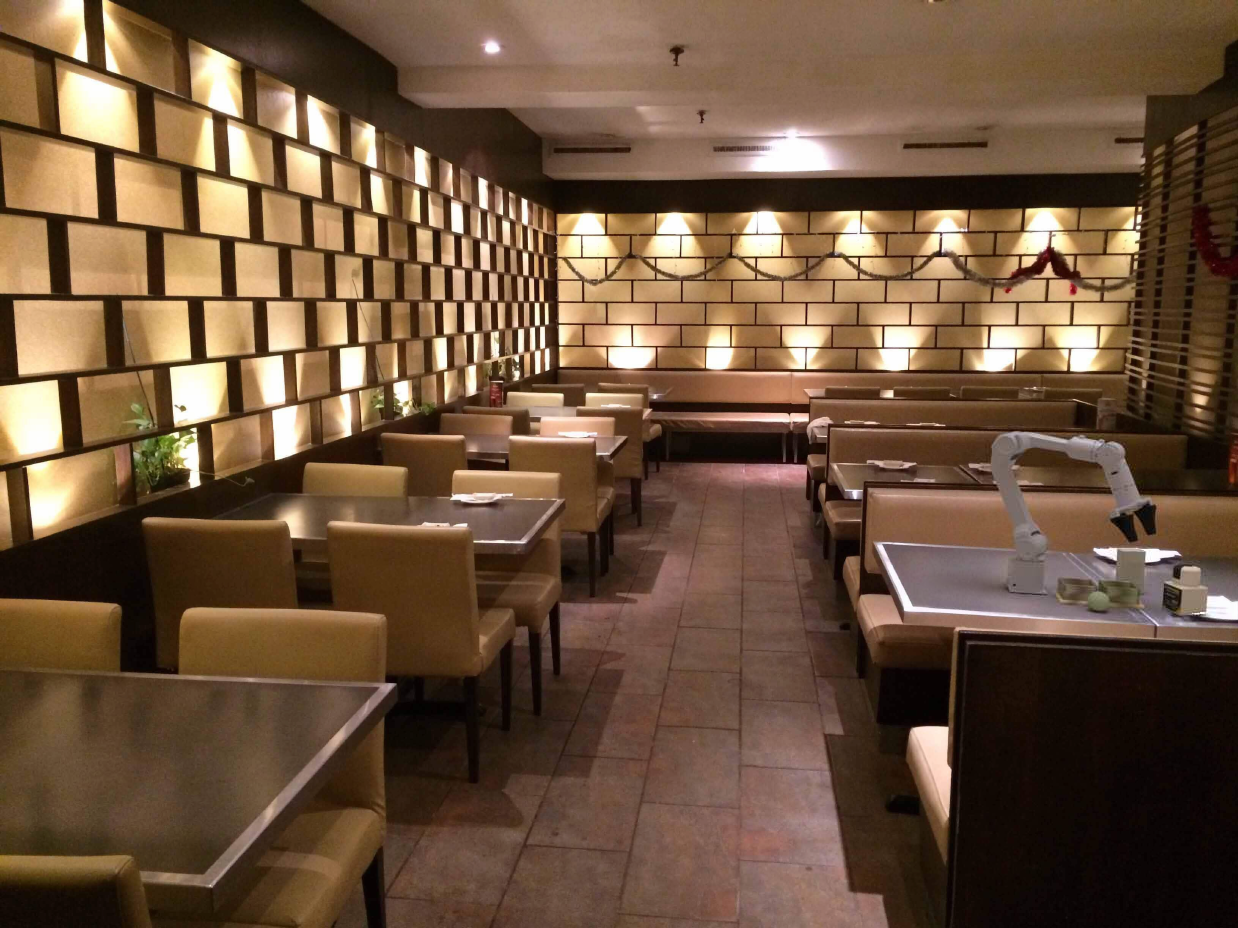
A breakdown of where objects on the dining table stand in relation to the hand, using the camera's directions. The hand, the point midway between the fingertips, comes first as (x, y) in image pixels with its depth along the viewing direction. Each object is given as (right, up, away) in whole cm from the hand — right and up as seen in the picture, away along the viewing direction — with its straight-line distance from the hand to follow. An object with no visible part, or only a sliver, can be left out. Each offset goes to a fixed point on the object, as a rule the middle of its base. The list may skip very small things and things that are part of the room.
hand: (1143, 538), depth 247 cm
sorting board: (-7, -17, +9) cm, 21 cm away
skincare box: (+6, -16, +18) cm, 25 cm away
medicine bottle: (+10, -19, 0) cm, 21 cm away
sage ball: (-11, -16, 0) cm, 20 cm away
